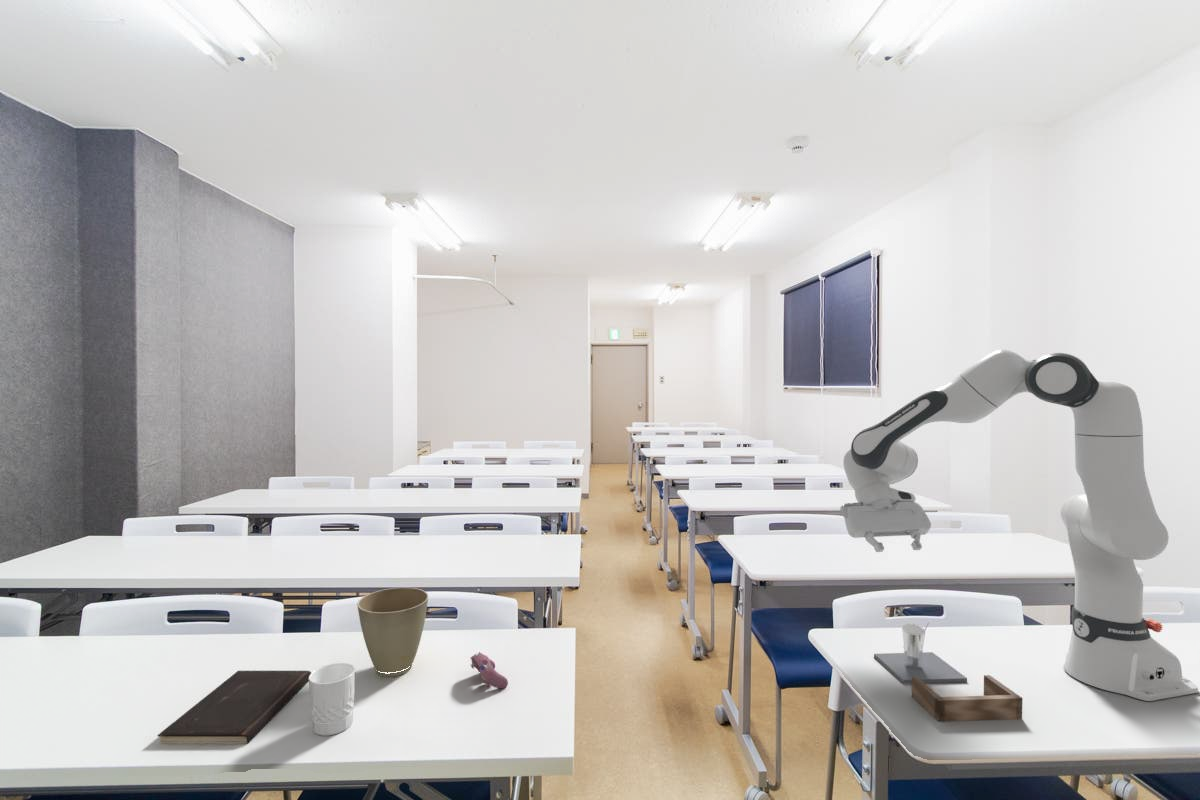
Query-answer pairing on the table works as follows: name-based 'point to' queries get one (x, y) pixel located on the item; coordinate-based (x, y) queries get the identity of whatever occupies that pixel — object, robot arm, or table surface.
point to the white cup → (332, 698)
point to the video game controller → (488, 671)
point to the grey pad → (928, 673)
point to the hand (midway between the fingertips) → (899, 550)
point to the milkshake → (913, 644)
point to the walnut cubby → (970, 702)
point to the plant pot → (393, 627)
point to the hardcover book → (237, 708)
